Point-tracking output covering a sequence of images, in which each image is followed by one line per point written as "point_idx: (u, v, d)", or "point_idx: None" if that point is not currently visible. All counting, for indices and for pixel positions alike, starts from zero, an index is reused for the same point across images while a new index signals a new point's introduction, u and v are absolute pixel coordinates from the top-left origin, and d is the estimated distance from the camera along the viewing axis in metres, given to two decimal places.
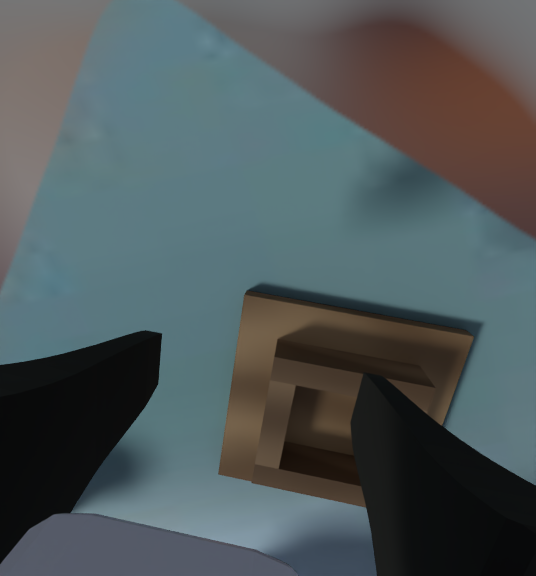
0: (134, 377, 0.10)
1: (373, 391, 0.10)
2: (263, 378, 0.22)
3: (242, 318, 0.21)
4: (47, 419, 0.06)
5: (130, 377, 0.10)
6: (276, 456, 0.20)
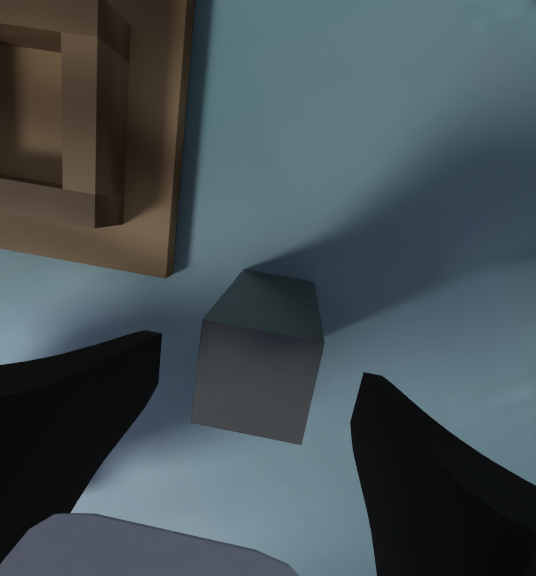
0: (134, 377, 0.10)
1: (373, 391, 0.10)
2: None
3: None
4: (47, 419, 0.06)
5: (130, 377, 0.10)
6: None
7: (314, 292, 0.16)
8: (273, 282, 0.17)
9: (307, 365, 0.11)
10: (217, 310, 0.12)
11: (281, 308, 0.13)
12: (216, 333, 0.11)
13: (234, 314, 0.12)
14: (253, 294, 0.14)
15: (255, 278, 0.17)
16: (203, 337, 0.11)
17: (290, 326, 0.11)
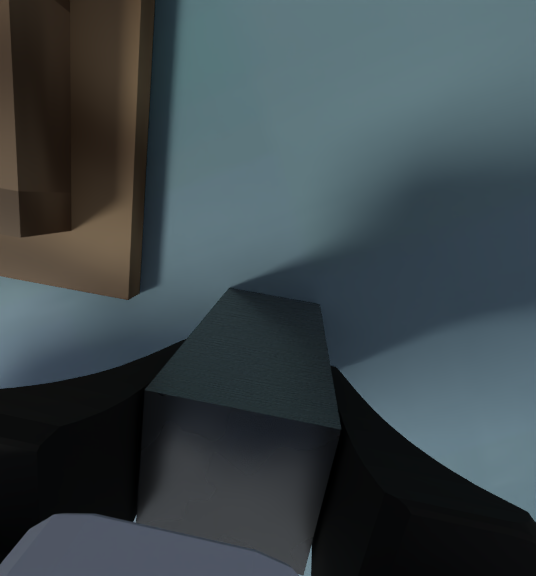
0: None
1: None
2: None
3: None
4: (121, 435, 0.06)
5: None
6: None
7: (320, 322, 0.12)
8: (266, 307, 0.13)
9: (313, 462, 0.07)
10: (175, 367, 0.08)
11: (273, 356, 0.09)
12: (166, 411, 0.07)
13: (201, 374, 0.07)
14: (236, 331, 0.10)
15: (242, 302, 0.13)
16: (147, 417, 0.07)
17: (286, 395, 0.07)
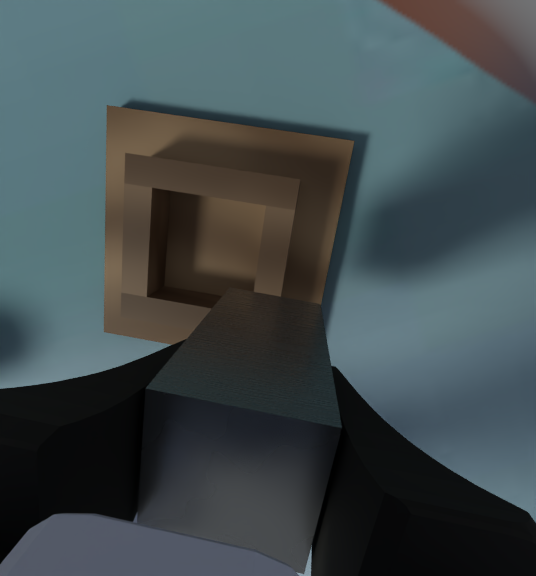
0: None
1: None
2: None
3: (107, 135, 0.19)
4: (121, 435, 0.06)
5: None
6: (142, 281, 0.18)
7: (321, 321, 0.12)
8: (267, 307, 0.13)
9: (314, 460, 0.07)
10: (175, 365, 0.08)
11: (274, 355, 0.09)
12: (167, 409, 0.07)
13: (202, 372, 0.08)
14: (237, 330, 0.10)
15: (243, 301, 0.13)
16: (148, 415, 0.07)
17: (287, 393, 0.07)
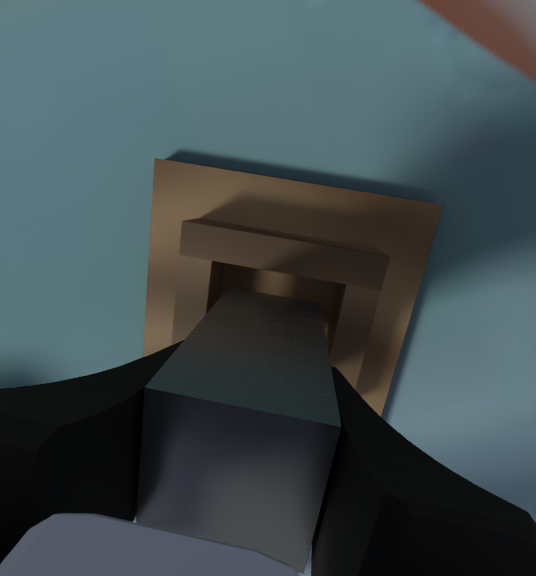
0: None
1: None
2: None
3: (154, 191, 0.16)
4: (122, 435, 0.06)
5: None
6: None
7: (321, 321, 0.12)
8: (266, 306, 0.13)
9: (313, 460, 0.07)
10: (175, 365, 0.08)
11: (273, 355, 0.09)
12: (166, 408, 0.07)
13: (201, 371, 0.07)
14: (236, 329, 0.10)
15: (243, 300, 0.13)
16: (147, 414, 0.07)
17: (287, 392, 0.07)
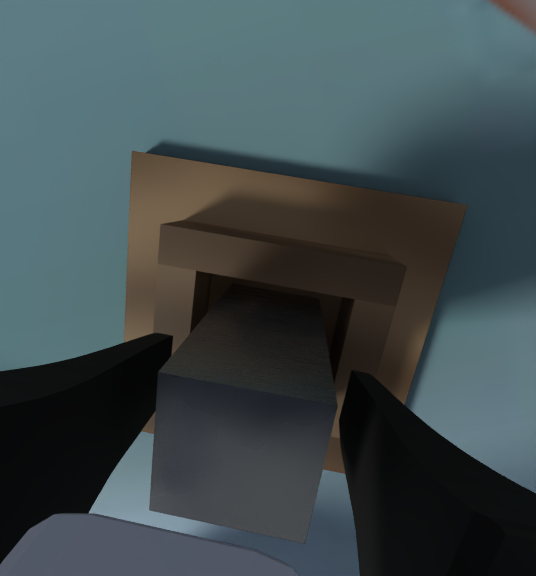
0: (147, 380, 0.10)
1: (359, 388, 0.10)
2: None
3: (132, 189, 0.14)
4: (67, 423, 0.06)
5: (143, 380, 0.10)
6: None
7: (319, 314, 0.13)
8: (268, 301, 0.13)
9: (312, 436, 0.07)
10: (184, 352, 0.08)
11: (275, 344, 0.09)
12: (178, 391, 0.07)
13: (209, 358, 0.08)
14: (240, 321, 0.11)
15: (245, 296, 0.13)
16: (160, 397, 0.07)
17: (287, 377, 0.08)
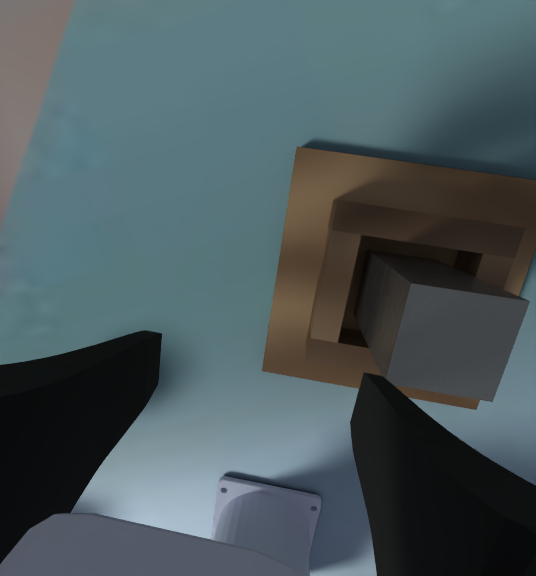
0: (134, 377, 0.10)
1: (373, 391, 0.10)
2: (315, 250, 0.19)
3: (293, 176, 0.18)
4: (47, 419, 0.06)
5: (130, 377, 0.10)
6: (335, 327, 0.18)
7: (452, 267, 0.17)
8: (408, 259, 0.17)
9: (509, 323, 0.11)
10: (409, 277, 0.12)
11: (451, 277, 0.14)
12: (422, 296, 0.12)
13: (427, 280, 0.12)
14: (412, 267, 0.15)
15: (389, 256, 0.18)
16: (409, 300, 0.12)
17: (483, 289, 0.12)
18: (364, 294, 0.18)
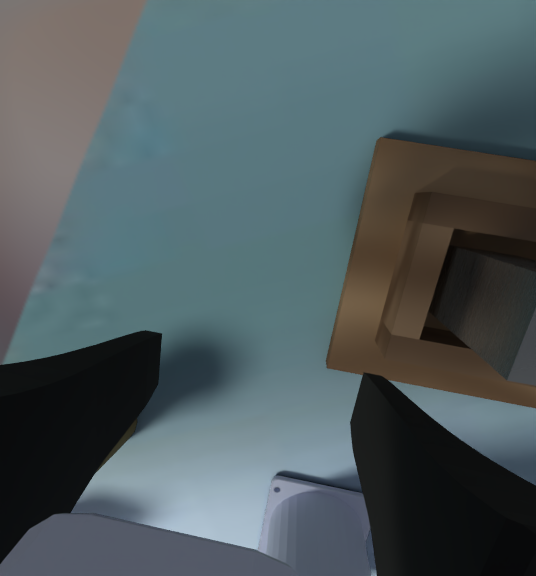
0: (134, 377, 0.10)
1: (373, 391, 0.10)
2: (392, 245, 0.19)
3: (375, 168, 0.18)
4: (47, 419, 0.06)
5: (130, 377, 0.10)
6: (418, 323, 0.17)
7: None
8: (496, 254, 0.17)
9: None
10: (535, 270, 0.12)
11: None
12: None
13: None
14: (516, 261, 0.14)
15: (476, 250, 0.17)
16: None
17: None
18: (447, 290, 0.18)
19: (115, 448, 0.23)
